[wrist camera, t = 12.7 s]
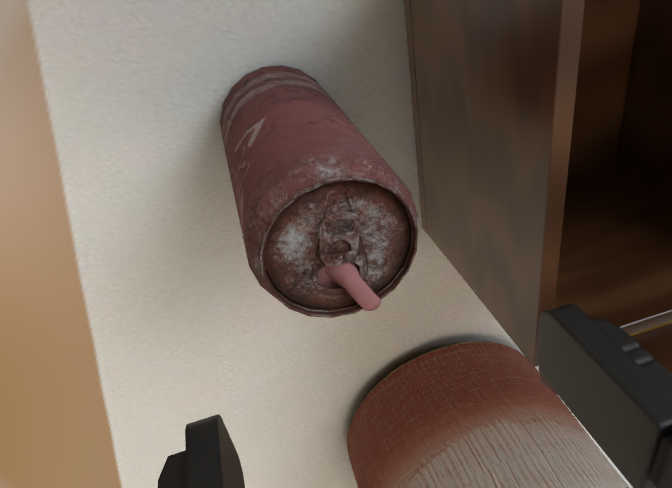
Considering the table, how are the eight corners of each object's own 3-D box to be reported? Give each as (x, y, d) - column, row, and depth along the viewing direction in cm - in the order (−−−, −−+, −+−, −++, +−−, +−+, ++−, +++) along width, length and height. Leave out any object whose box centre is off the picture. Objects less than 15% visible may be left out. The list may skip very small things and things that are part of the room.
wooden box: (398, -74, 25) (568, -67, 14) (662, -129, 27) (990, -160, 16) (422, 227, 35) (533, 367, 24) (614, 172, 37) (798, 279, 26)
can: (273, 194, 31) (330, 357, 19) (195, 115, 27) (209, 257, 16) (352, 128, 30) (461, 258, 19) (282, 38, 27) (364, 129, 15)
